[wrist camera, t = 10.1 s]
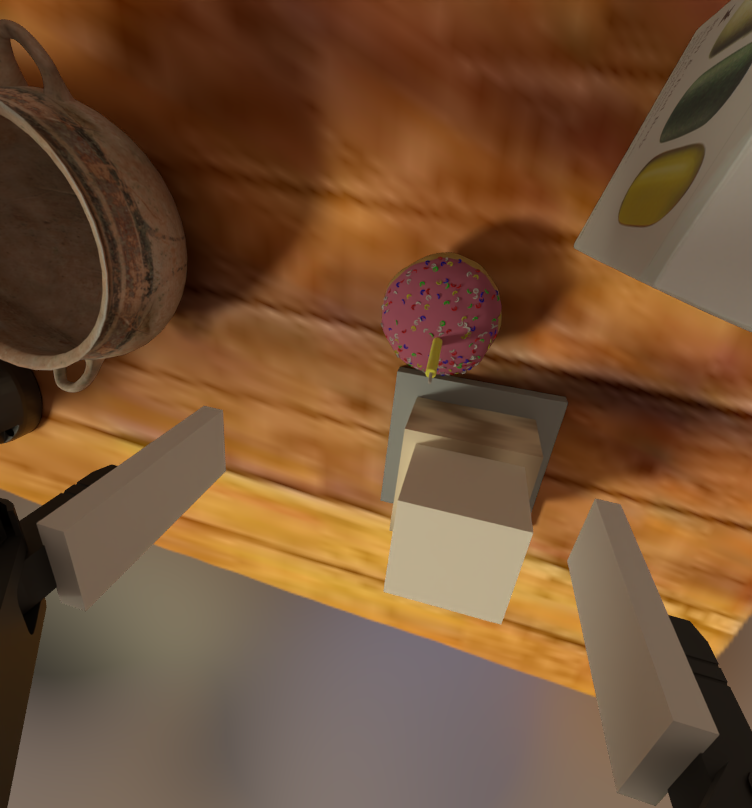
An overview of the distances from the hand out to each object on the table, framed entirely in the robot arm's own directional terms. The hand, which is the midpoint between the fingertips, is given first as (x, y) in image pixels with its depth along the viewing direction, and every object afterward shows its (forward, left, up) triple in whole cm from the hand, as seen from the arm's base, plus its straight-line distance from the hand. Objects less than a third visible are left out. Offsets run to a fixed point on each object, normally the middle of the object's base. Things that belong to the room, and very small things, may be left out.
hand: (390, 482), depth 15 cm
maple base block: (+4, -12, -22) cm, 25 cm away
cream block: (+4, -12, -16) cm, 20 cm away
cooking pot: (-29, +3, -23) cm, 37 cm away
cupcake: (0, +1, -23) cm, 23 cm away
